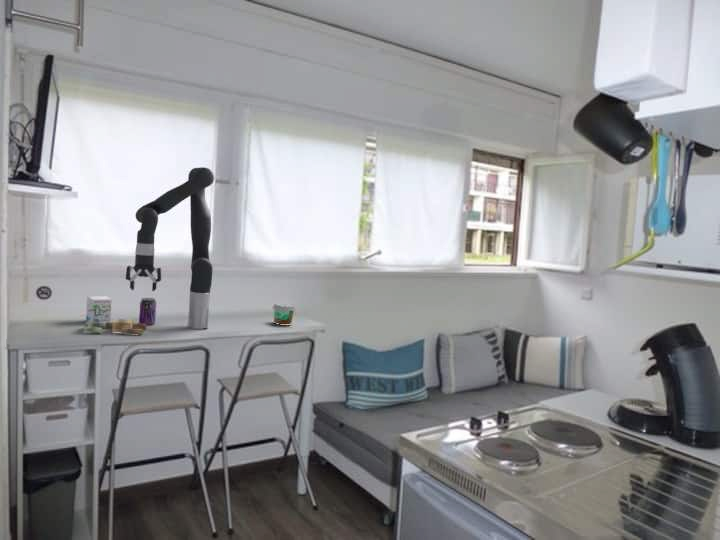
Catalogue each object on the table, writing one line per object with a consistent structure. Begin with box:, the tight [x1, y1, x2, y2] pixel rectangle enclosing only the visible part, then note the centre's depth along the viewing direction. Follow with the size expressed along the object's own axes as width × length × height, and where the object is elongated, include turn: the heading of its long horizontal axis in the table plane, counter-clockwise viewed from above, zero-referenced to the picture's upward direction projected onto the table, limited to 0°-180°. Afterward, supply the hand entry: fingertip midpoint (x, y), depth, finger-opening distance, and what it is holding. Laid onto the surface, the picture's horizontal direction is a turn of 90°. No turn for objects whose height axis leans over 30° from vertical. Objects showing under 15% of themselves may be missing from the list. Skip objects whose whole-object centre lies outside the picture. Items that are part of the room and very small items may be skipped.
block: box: [111, 318, 134, 333], centre depth 230 cm, size 7×7×5 cm
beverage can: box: [138, 297, 157, 326], centre depth 248 cm, size 7×7×12 cm
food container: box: [272, 302, 296, 324], centre depth 276 cm, size 12×6×10 cm, turn 68°
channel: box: [83, 319, 148, 336], centre depth 229 cm, size 23×12×4 cm, turn 105°
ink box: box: [85, 295, 113, 323], centre depth 242 cm, size 8×8×12 cm
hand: (143, 290), depth 231 cm, fingers open, 8 cm apart
